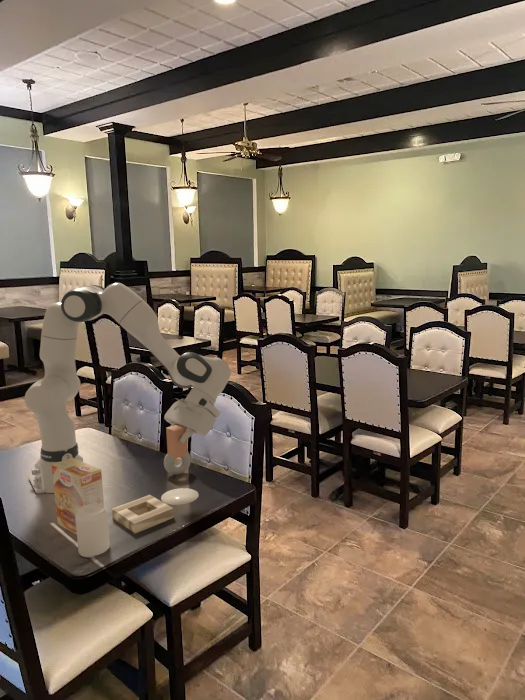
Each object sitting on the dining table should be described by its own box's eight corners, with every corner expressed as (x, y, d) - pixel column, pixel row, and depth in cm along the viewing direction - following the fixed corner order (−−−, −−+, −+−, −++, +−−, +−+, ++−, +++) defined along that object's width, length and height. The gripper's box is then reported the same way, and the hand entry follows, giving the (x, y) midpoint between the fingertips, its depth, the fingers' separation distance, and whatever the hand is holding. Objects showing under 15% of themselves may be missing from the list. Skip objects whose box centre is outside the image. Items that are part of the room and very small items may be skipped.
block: (167, 454, 171) (166, 427, 169) (179, 450, 174) (177, 424, 172) (175, 458, 167) (174, 430, 166) (187, 454, 170) (186, 427, 169)
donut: (166, 479, 189) (164, 452, 187) (163, 475, 192) (161, 449, 190) (192, 473, 194) (191, 447, 192) (189, 470, 197) (188, 444, 195)
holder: (112, 521, 160) (111, 508, 159) (150, 506, 169) (149, 494, 168) (135, 536, 151) (134, 523, 150) (173, 520, 159) (173, 508, 159)
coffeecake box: (56, 526, 157) (50, 464, 154) (78, 517, 163) (72, 456, 159) (85, 543, 148) (79, 476, 144) (107, 532, 153) (102, 468, 150)
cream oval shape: (154, 499, 174) (153, 496, 173) (184, 487, 182) (184, 485, 181) (175, 511, 165) (174, 508, 165) (206, 498, 173) (206, 495, 173)
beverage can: (92, 562, 138) (89, 519, 136) (72, 554, 143) (68, 512, 141) (116, 547, 145) (113, 506, 143) (96, 540, 149) (92, 500, 147)
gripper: (174, 392, 180) (150, 427, 175) (212, 403, 165) (187, 442, 160) (185, 402, 183) (163, 437, 179) (223, 414, 169) (200, 452, 164)
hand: (175, 439), depth 169 cm, fingers closed on block, 4 cm apart
